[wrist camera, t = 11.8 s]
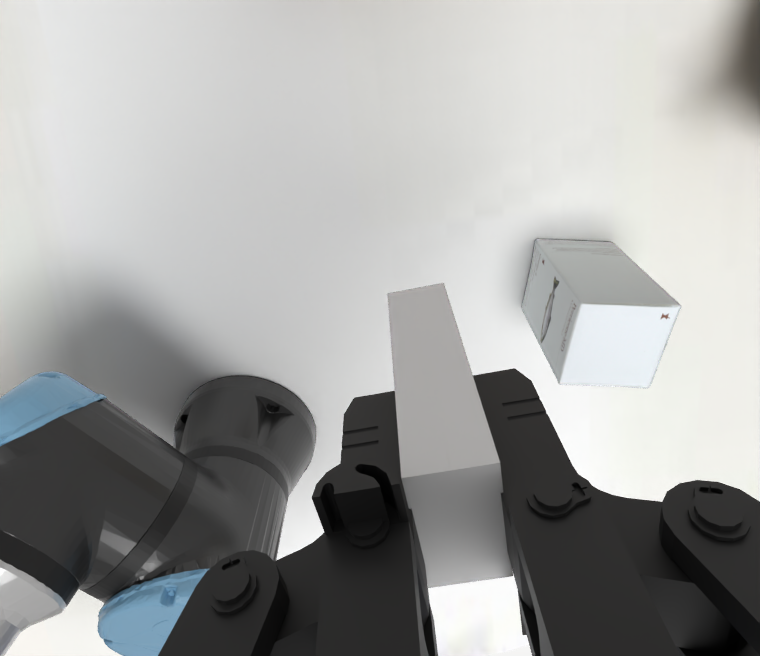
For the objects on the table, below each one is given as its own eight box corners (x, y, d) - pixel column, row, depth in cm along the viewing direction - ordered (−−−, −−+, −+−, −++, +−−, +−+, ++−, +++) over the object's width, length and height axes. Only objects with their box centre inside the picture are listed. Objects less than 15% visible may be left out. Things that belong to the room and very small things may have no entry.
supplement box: (533, 236, 46) (581, 300, 35) (614, 240, 46) (687, 305, 35) (518, 308, 49) (556, 386, 38) (593, 312, 50) (652, 390, 39)
